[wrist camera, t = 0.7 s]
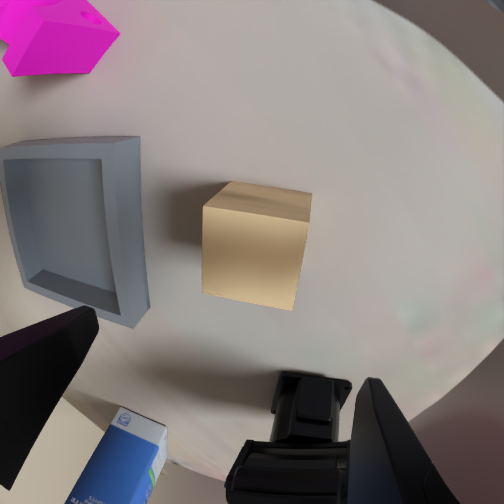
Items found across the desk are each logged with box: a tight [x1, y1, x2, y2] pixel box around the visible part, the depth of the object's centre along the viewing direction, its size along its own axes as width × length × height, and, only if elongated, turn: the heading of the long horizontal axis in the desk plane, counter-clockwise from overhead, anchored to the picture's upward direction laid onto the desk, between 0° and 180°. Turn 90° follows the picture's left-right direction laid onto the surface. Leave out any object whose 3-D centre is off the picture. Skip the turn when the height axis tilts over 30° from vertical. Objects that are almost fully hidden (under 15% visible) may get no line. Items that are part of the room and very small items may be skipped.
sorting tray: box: [0, 136, 150, 329], centre depth 21 cm, size 14×14×3 cm
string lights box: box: [65, 407, 167, 504], centre depth 27 cm, size 13×8×26 cm, turn 168°
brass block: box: [202, 182, 312, 311], centre depth 17 cm, size 5×5×5 cm
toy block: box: [0, 0, 120, 77], centre depth 12 cm, size 15×6×8 cm, turn 41°
